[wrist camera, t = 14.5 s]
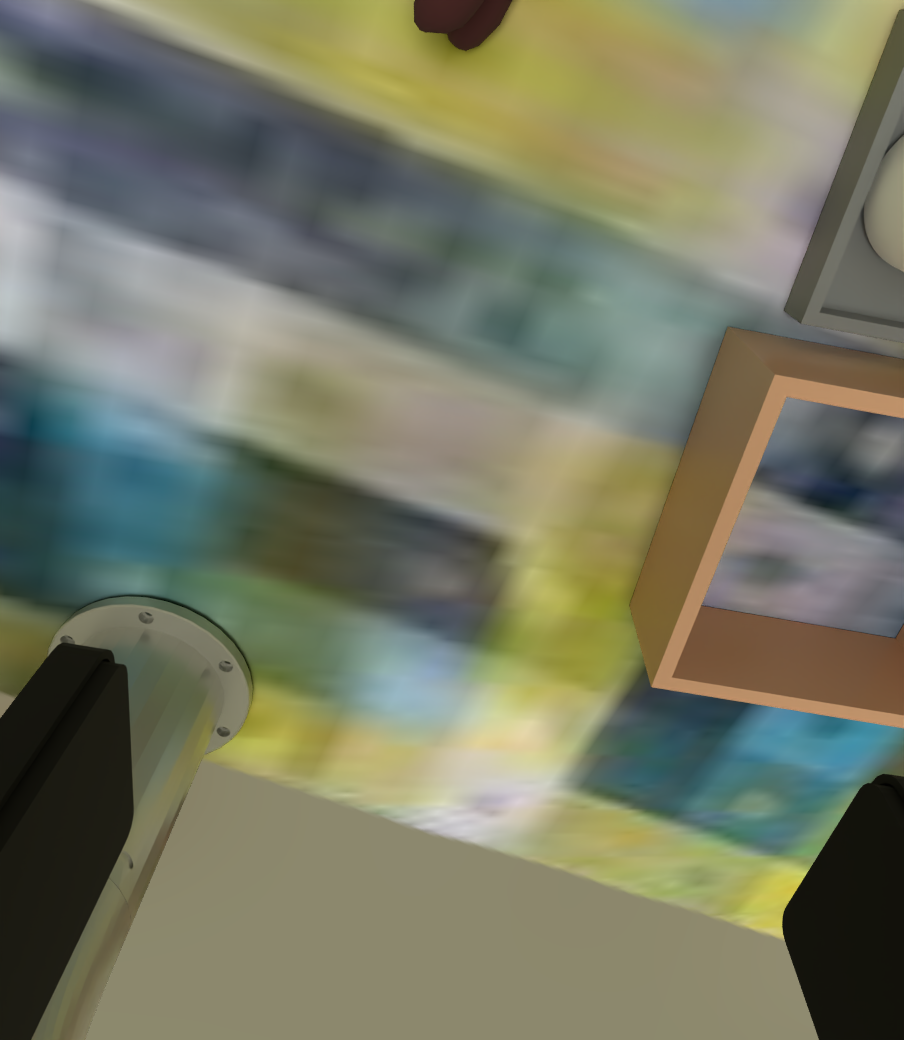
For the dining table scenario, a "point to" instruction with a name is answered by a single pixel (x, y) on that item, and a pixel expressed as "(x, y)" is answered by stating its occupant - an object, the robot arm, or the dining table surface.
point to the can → (887, 208)
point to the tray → (857, 222)
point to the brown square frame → (708, 524)
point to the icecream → (460, 19)
